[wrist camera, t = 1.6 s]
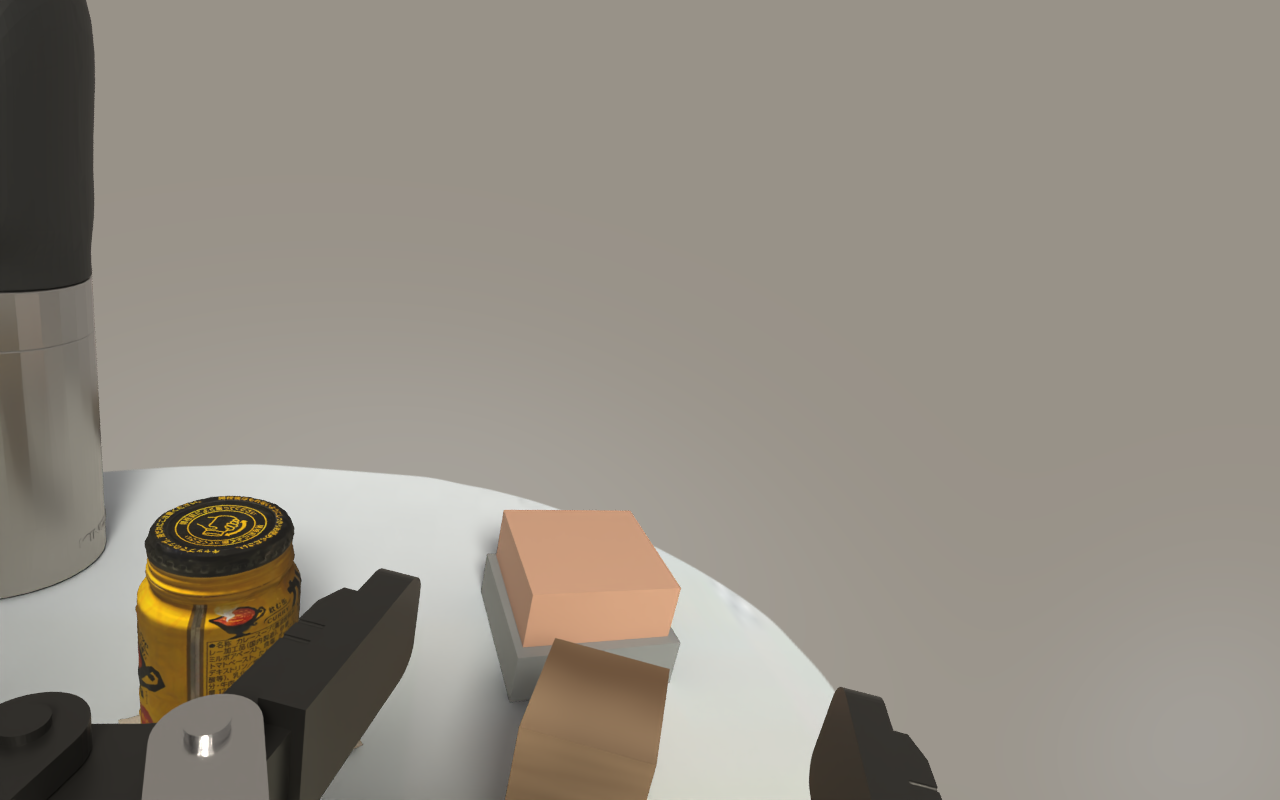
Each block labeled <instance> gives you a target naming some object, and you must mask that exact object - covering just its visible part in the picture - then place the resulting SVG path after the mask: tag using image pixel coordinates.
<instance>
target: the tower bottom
mask: <svg viewBox="0 0 1280 800" xmlns="http://www.w3.org/2000/svg"><path fill="white" fill-rule="evenodd" d="M481 594H482V597H483V601H484V605H485V609H486V613H487V617H488V620H489V624H490V628H491V632H492V636H493V640H494V644H495V647H496V651H497V655H498V659H499V663H500V667H501V671H502V674H503V678H504V682H505V686H506V690H507V694H508V698H509V701H510V702H517V701H525V700H530V699H531V696H532V694H533V691H534V689H535V686H536V684H537V681H538V679H539V677H540V674H541V672H542V669H543V667H544V664H545V662H546V659H547V657H548V654H549V652H550V649H551V647H552V645H548V646H535V647H523V646H522V642H521V639H520V635H519V632H518V629H517V625H516V622H515V618H514V615H513V611H512V608H511V605H510V601H509V598H508V594H507V591H506V587H505V584H504V581H503V577H502V574H501V570H500V567H499V563H498V560H497V557H496V554H487V558H486V564H485V571H484V577H483V583H482V589H481ZM576 644H580V645H583V646H587V647H591V648H594V649H598V650H602V651H605V652H609V653H613V654H616V655H620V656H624V657H627V658H631V659H635V660H638V661H642V662H646V663H649V664H653V665H657V666H660V667H664V668H668V669H670V672H669V679H668V683H669V682H670V678H671V674H672V671H673V667H674V664H675V660H676V656H677V653H678V649H679V646H680V641H679V640H678V638H677V636H676V635H675V633H674V631H673V630H672V628H671V627H670V630H669V634H668V636H664V637H651V638H638V639H625V640H612V641H600V642H587V643H576Z"/></svg>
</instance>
